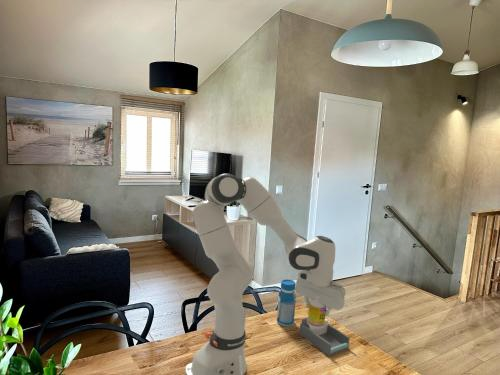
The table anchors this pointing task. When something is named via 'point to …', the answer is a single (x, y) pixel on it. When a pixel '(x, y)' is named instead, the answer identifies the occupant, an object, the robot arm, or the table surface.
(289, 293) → the beverage bottle
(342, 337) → the pusher lane
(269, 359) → the table surface
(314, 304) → the supplement bottle
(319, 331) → the plate
